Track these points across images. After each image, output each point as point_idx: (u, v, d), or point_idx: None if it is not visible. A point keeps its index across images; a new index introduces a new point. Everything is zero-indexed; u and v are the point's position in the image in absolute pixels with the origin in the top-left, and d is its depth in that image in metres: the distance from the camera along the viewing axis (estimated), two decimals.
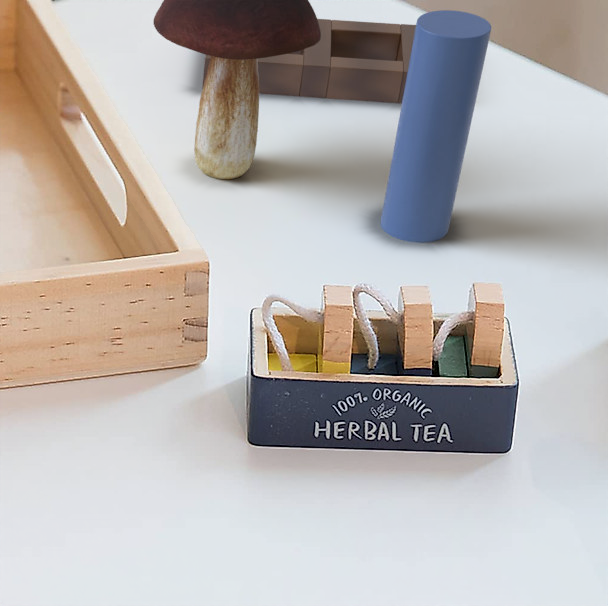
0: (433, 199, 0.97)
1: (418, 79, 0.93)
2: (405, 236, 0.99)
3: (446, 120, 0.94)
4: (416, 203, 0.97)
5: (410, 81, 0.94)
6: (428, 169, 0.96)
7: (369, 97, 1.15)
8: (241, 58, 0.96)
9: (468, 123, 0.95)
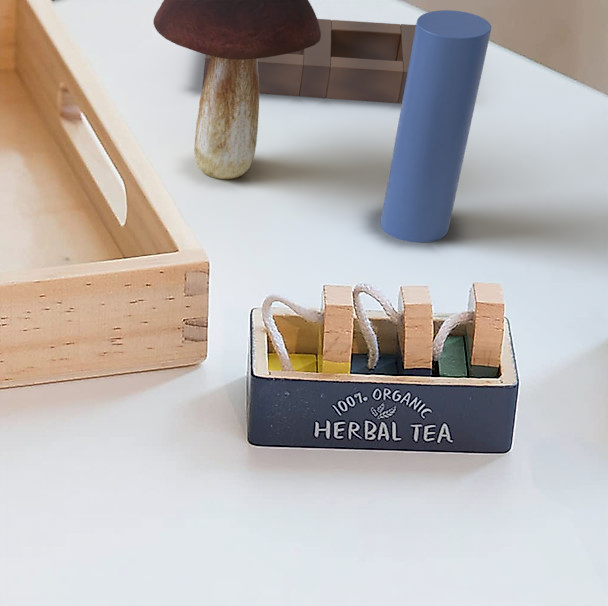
0: (433, 199, 0.97)
1: (418, 79, 0.93)
2: (405, 236, 0.99)
3: (446, 120, 0.94)
4: (416, 203, 0.97)
5: (410, 81, 0.94)
6: (428, 169, 0.96)
7: (369, 97, 1.15)
8: (241, 58, 0.96)
9: (468, 123, 0.95)
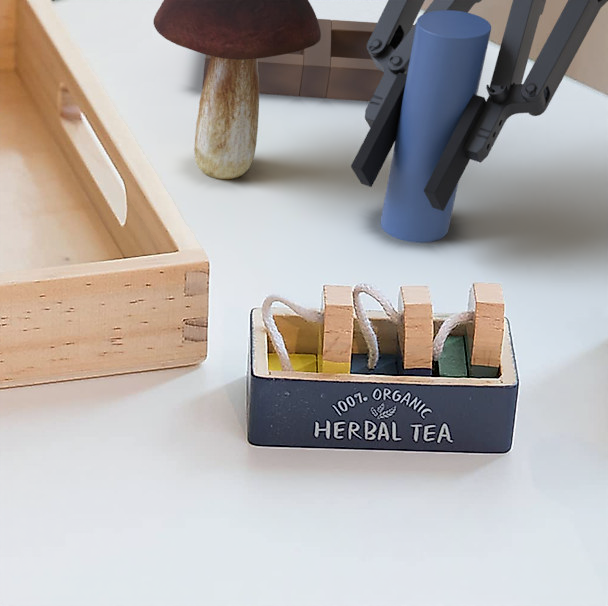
0: None
1: (418, 79, 0.93)
2: (405, 236, 0.99)
3: (446, 120, 0.94)
4: (416, 203, 0.97)
5: (410, 81, 0.94)
6: (428, 169, 0.96)
7: (369, 97, 1.15)
8: (241, 58, 0.96)
9: None
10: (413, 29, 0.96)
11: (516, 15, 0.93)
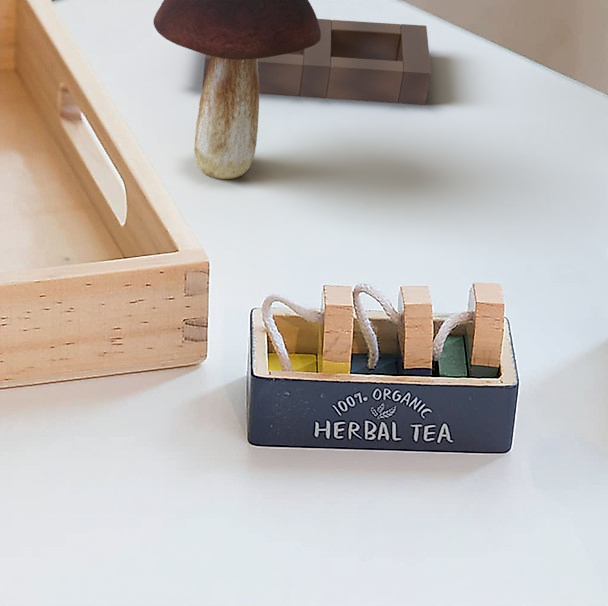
0: None
1: None
2: None
3: None
4: None
5: None
6: None
7: (369, 97, 1.15)
8: (241, 58, 0.96)
9: None
10: None
11: None
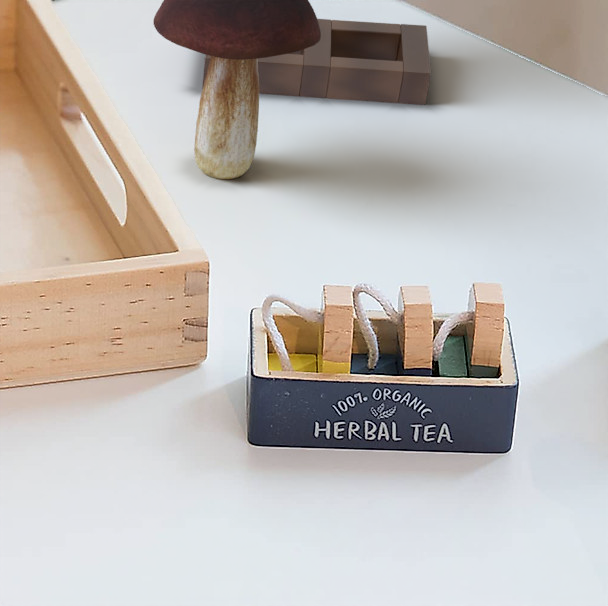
0: None
1: None
2: None
3: None
4: None
5: None
6: None
7: (369, 97, 1.15)
8: (241, 58, 0.96)
9: None
10: None
11: None
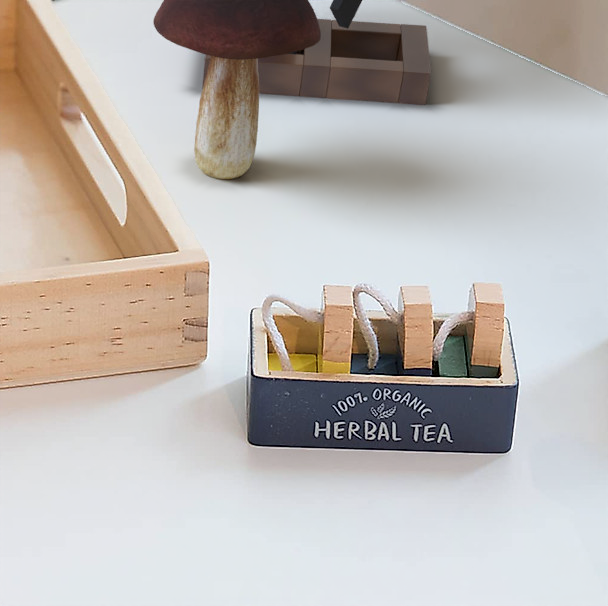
0: None
1: None
2: None
3: None
4: None
5: None
6: None
7: (369, 97, 1.15)
8: (241, 58, 0.96)
9: None
10: None
11: None
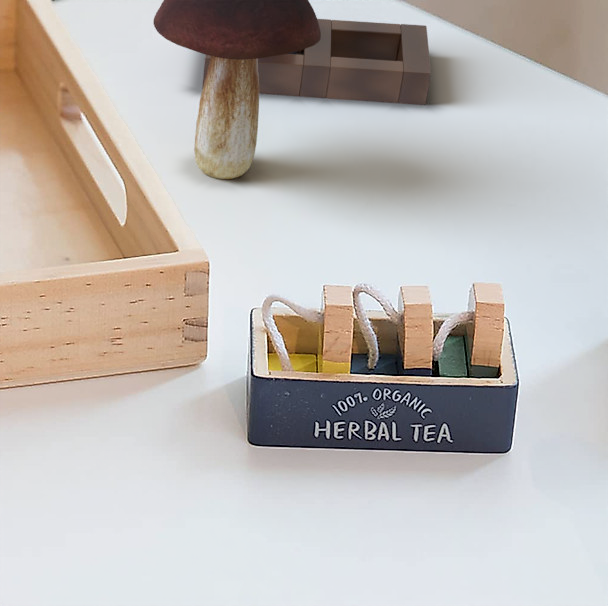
0: None
1: None
2: None
3: None
4: None
5: None
6: None
7: (369, 97, 1.15)
8: (241, 58, 0.96)
9: None
10: None
11: None
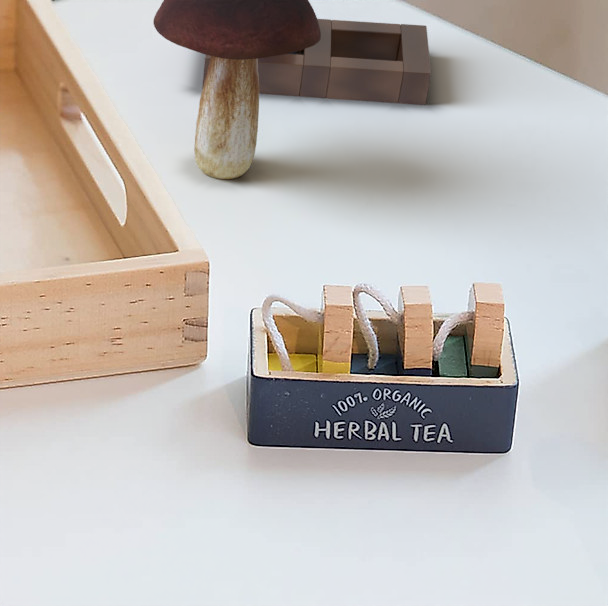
0: None
1: None
2: None
3: None
4: None
5: None
6: None
7: (369, 97, 1.15)
8: (241, 58, 0.96)
9: None
10: None
11: None
